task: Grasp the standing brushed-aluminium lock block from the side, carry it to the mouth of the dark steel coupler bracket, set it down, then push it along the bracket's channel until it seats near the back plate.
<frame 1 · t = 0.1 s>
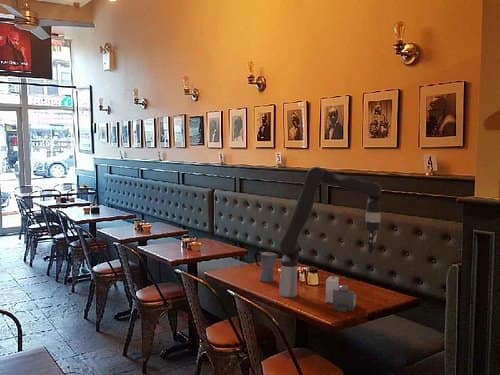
hand: (371, 251, 247), 29 cm above the table, tool pointing down, fingers open, 8 cm apart
lock block: (331, 300, 257), on the table
moka pot: (265, 281, 296), on the table
coupler: (344, 306, 246), on the table
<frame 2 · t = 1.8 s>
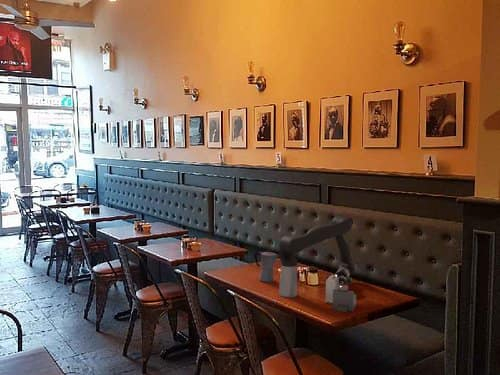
hand: (336, 282, 267), 7 cm above the table, tool horizontal, fingers open, 8 cm apart
nothing on the table moved.
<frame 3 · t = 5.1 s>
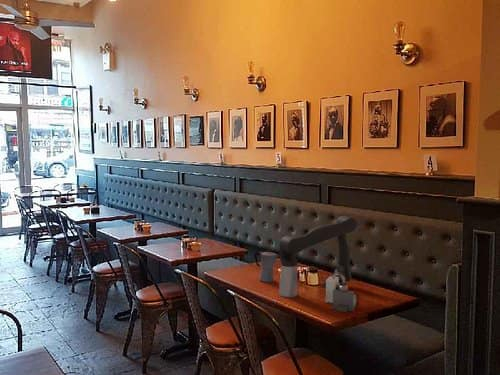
hand: (331, 288, 255), 7 cm above the table, tool horizontal, fingers closed on lock block, 5 cm apart
lock block: (331, 300, 257), on the table, touching gripper
everything else where it was.
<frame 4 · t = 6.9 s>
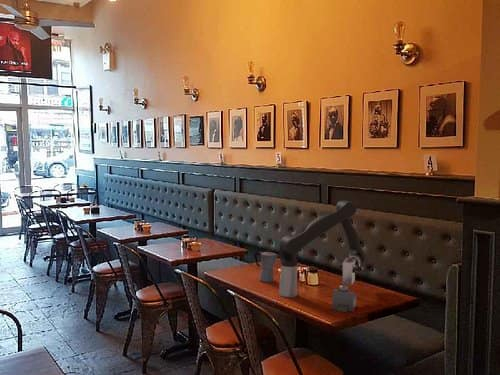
hand: (348, 270, 252), 18 cm above the table, tool horizontal, fingers closed on lock block, 5 cm apart
lock block: (348, 282, 255), point 11 cm above the table, touching gripper
everything else where it was.
when the fingers open (7 cm above the table, at t = 9.2 s): lock block stays where it is, on the table.
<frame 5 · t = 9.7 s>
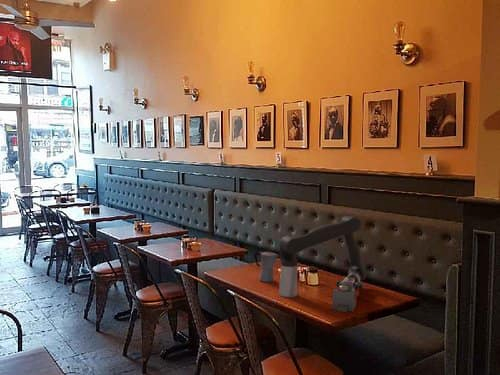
hand: (347, 287, 253), 8 cm above the table, tool horizontal, fingers open, 8 cm apart
lock block: (347, 301, 256), on the table
everything else where it was.
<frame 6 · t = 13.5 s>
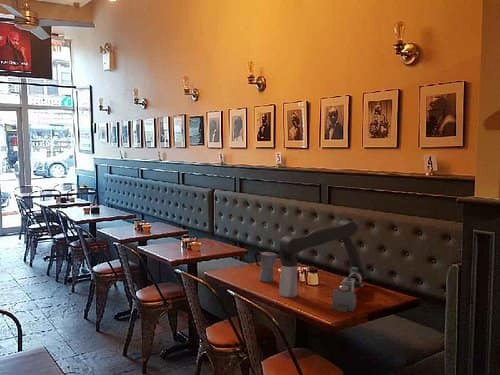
hand: (349, 287, 259), 7 cm above the table, tool horizontal, fingers closed
lock block: (347, 301, 255), on the table, touching gripper
everything else where it was.
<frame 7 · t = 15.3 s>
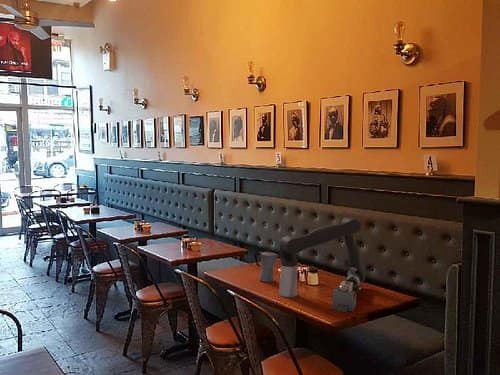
hand: (347, 291, 252), 7 cm above the table, tool horizontal, fingers closed
lock block: (345, 305, 248), on the table, touching coupler, gripper
everything else where it was.
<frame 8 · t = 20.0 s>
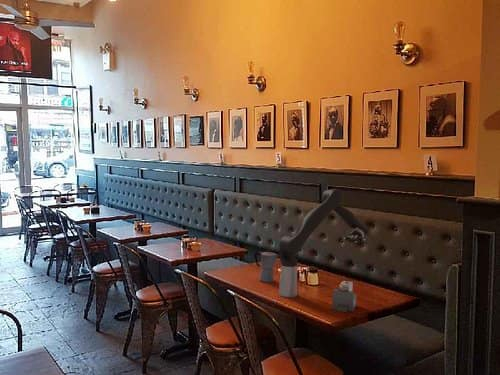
hand: (352, 241, 261), 32 cm above the table, tool horizontal, fingers closed
lock block: (345, 305, 248), on the table, touching coupler
everything else where it was.
at the end: lock block 0.1 cm from the target spot on the coupler, point 0.0 cm above the coupler's base; lock block tilted 0°; the gripper is holding nothing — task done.
